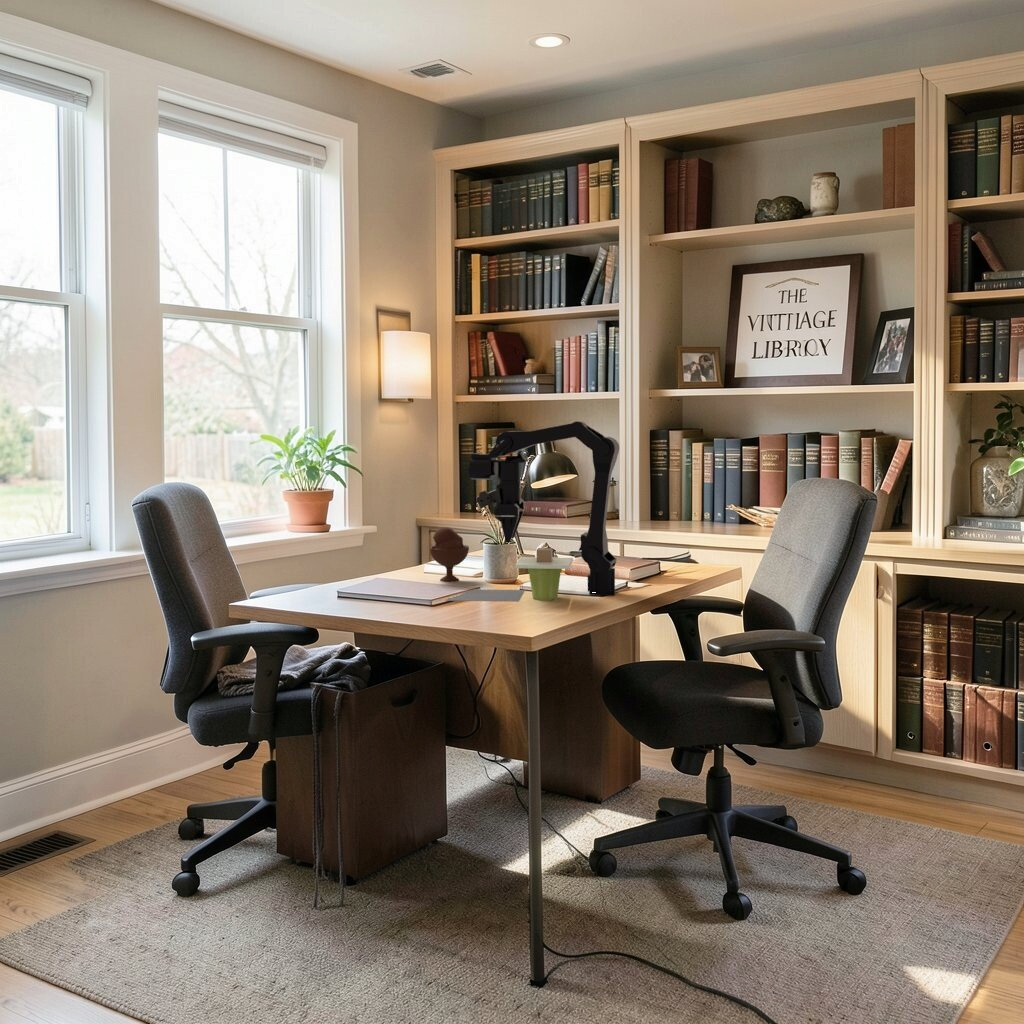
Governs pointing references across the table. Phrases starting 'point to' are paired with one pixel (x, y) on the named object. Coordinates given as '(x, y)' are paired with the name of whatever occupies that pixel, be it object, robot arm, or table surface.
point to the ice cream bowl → (448, 551)
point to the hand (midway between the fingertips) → (509, 540)
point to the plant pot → (544, 583)
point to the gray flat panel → (489, 595)
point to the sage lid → (544, 561)
